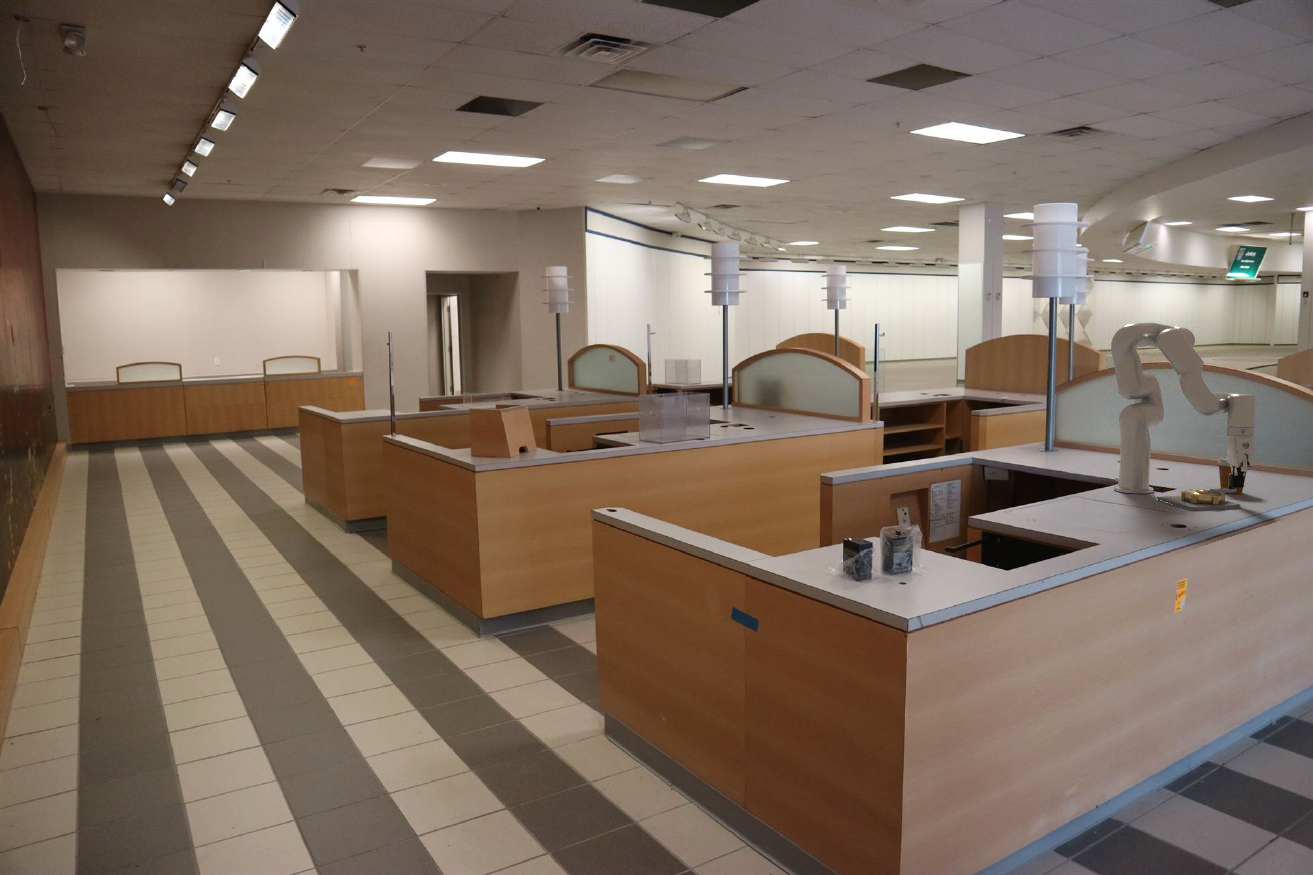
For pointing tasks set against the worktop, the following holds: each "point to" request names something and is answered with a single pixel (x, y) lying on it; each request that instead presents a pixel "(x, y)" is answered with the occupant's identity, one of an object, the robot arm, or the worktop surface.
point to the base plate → (1193, 506)
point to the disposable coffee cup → (1226, 475)
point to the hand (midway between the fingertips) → (1237, 486)
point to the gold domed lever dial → (1207, 494)
